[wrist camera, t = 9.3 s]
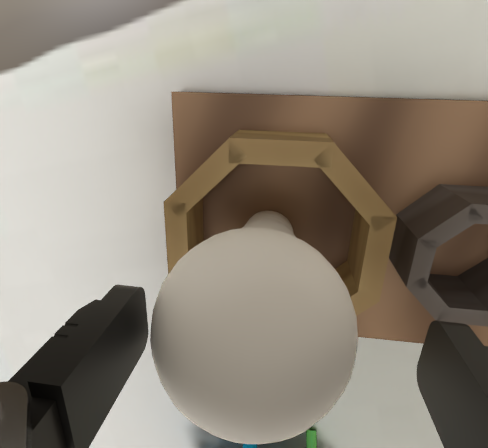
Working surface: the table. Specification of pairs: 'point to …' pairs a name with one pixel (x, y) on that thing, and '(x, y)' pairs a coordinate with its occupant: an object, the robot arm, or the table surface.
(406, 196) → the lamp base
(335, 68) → the table surface
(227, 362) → the lightbulb
